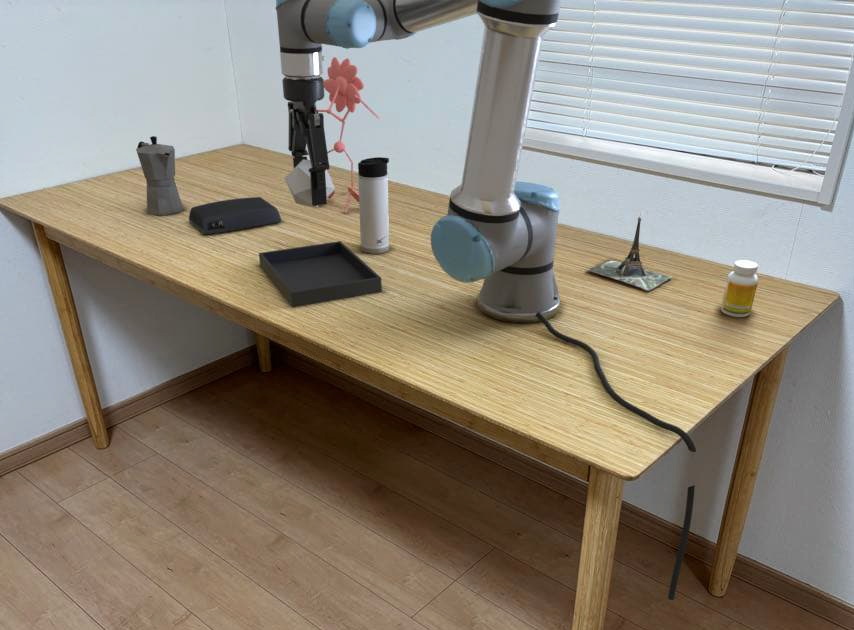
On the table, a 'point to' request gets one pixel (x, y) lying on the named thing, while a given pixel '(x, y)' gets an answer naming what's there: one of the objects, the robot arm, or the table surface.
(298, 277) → the black tray
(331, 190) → the die
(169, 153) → the coffeepot
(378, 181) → the travel mug
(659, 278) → the eiffel tower figurine
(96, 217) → the table surface
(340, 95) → the figurine
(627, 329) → the table surface
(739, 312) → the supplement bottle
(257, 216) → the hard drive
